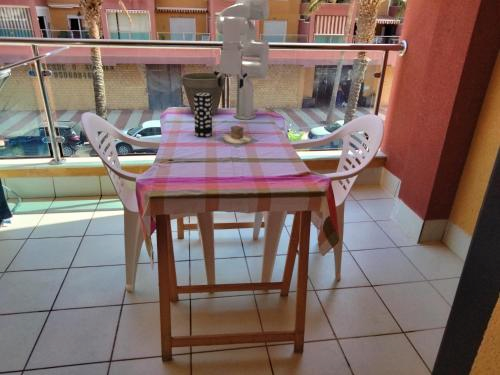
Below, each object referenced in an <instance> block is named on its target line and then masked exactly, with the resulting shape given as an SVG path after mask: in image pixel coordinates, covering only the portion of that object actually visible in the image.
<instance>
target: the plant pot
mask: <svg viewBox="0 0 500 375" xmlns="http://www.w3.org/2000/svg"><path fill="white" fill-rule="evenodd" d="M180 77H181V78H180V79H181V85H182V86H183V89H184V92H185V95H186V99H187V101H188V104H189V108H190V112H191V113H192V115H194V94H195V93H210V94H212V116H214V115H216V114H217V113H218V109H219V107H220V106H219V105H220V102H221V98H222V95H223V89H224V86H225V85H226V74H222V76H221V78H222V86H221V87H219V85H218V78H217V76H216V75H215V74H214V72H189V73H184V74H181V75H180Z"/></svg>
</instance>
